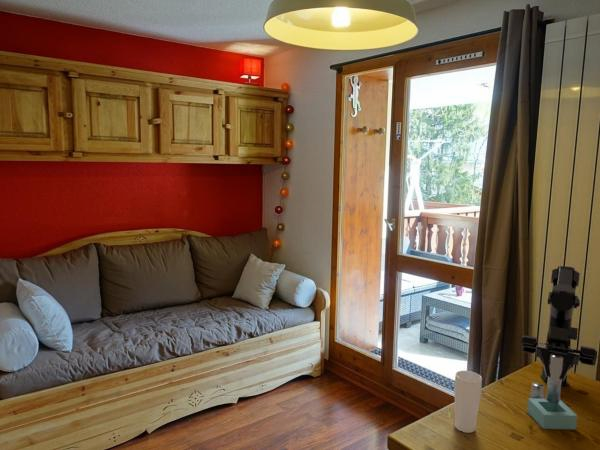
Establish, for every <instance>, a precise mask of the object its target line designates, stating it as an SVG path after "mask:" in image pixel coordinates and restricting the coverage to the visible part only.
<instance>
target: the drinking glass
mask: <svg viewBox="0 0 600 450" xmlns="http://www.w3.org/2000/svg"><path fill="white" fill-rule="evenodd" d="M482 381H483V377H482V376H481V375H480V374H478V373H477V372H474V371H471V370H459V371H456V373H455V377H454V388H453V389H454V393H453V394H454V395H453V396H454V427H455V428H456V430H458V431H460V432H461V431H462V433H468V434H471V433H474V431H476V427H477V417H478V413H479V406H480V401H481V396H482V395H481V394H482V388H483V387H482V386H483V384H482V383H483V382H482Z"/></svg>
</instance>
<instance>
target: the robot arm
mask: <svg viewBox="0 0 600 450" xmlns="http://www.w3.org/2000/svg"><path fill="white" fill-rule="evenodd" d="M551 270H552V271H551V278H550V283H551V284H552V288H551V291H549V292H548V297H547V305H550V307H549V309H550V310H549V312H550V313H549V319H548V321H549V322H548V331H547V333H546V334H547V335H546V336H547V338H546V340H545V342H542V341H538V337H535V336H530V335H523V336H522V337H521V342H520V351H522V352H524V353H527V354H528V353H529V354H535V357H536V358H539V359H540V361H541V364H542V373H541V375H540V378H541V379H542V380H544V382H546V383H547V382H548V372H549V361H550V354H559V355H562V356H563V357H564V364H563V373H562V383H561V387H563V386H567V387H569V386H570V383H569V382H568V373H569V372H570V370H571V369H572V368H574V366H575V365H576V366H577V365H579V362H580V363H581V364H583V365H587V366H592V367H593V366H596V363H597V358H598V349H596V347H595V348H594V347H588V346H584V345H580V349H574V348H571V345H572V344H571V342H572V341H577V340H578V333H579V332H578V331H579V329H578V328H577V327H573V326H572V324H573V323H572V322H573V315H574V310H575V309H578V308H579V307H580V306H581V305H580V304H581V303H580V299H579V297H578V296H579V295H576V289H577V287H578V288H579V285H580V274H581V273H580V272H579V271H577V270H576V269H575V267H573V266H566V265H557V268H554V269H551ZM571 340H572V341H571Z"/></svg>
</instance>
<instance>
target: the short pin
mask: <svg viewBox="0 0 600 450" xmlns="http://www.w3.org/2000/svg"><path fill="white" fill-rule="evenodd" d="M530 386H531V387H530V388H531V389H530V396H529V397H530V398H535V399H544V393H545V391H544V390H545V385H544V384H543V383H540V382H531V385H530Z"/></svg>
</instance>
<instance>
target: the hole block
mask: <svg viewBox="0 0 600 450" xmlns="http://www.w3.org/2000/svg"><path fill="white" fill-rule="evenodd" d="M526 409H527V410H526V412H527V413H528V414H529V415H530V417H532V418H533V420H534V421H535V422H537V424H538V425H539V426H540V428H542V429H543V430H577V422H578V415H577V414H576V413H575V412H574V411H573V410H572V409H571V408H570V407H569V406H568V405H566V403H564V402H563V401H562V400H561V399H560V402H559V403H551V402H548V401H547V400H546V398H543V399H535V398H527V408H526Z"/></svg>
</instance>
